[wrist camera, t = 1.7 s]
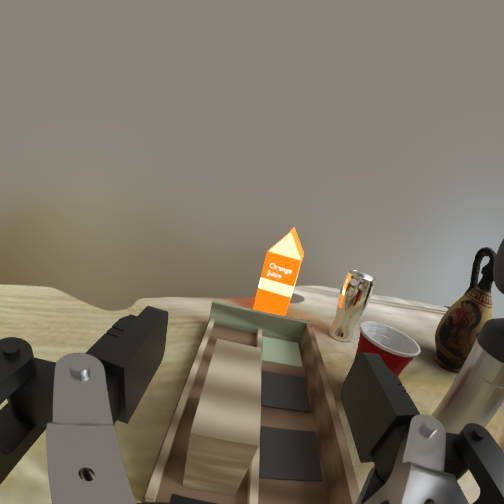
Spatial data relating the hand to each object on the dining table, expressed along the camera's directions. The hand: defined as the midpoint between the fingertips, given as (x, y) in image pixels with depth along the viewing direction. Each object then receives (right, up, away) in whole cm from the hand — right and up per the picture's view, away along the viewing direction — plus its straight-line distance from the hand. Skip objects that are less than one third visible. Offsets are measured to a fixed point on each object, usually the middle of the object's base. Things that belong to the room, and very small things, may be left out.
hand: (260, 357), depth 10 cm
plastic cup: (+18, -20, +31) cm, 41 cm away
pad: (+5, -14, +39) cm, 42 cm away
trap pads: (+4, -18, +22) cm, 29 cm away
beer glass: (+20, -16, +52) cm, 57 cm away
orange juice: (+4, -10, +58) cm, 59 cm away
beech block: (-4, -17, +16) cm, 24 cm away
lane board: (0, -17, +26) cm, 31 cm away
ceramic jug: (+49, -24, +45) cm, 71 cm away
